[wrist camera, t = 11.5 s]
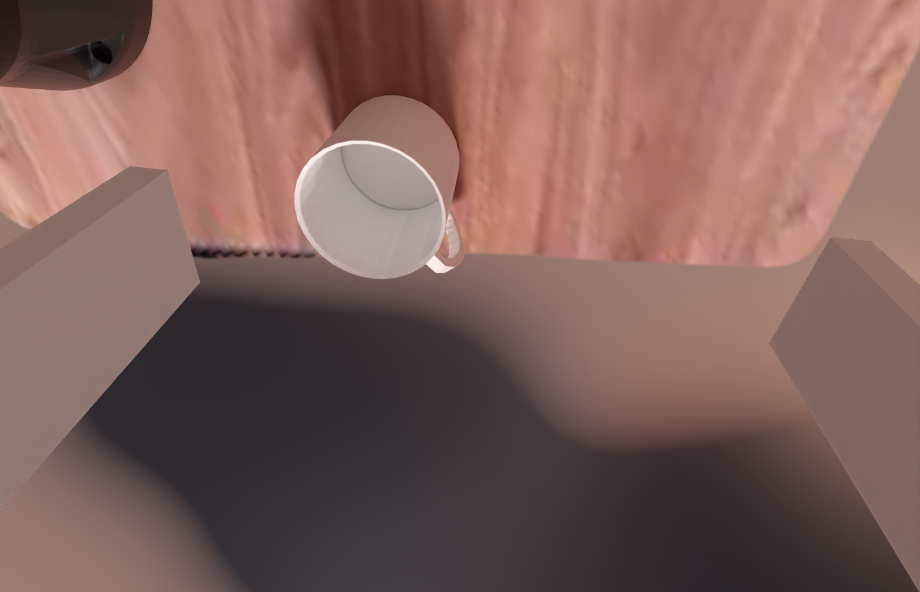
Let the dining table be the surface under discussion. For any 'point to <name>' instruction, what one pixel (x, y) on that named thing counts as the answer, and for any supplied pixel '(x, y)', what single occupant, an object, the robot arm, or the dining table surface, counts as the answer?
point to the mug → (383, 191)
